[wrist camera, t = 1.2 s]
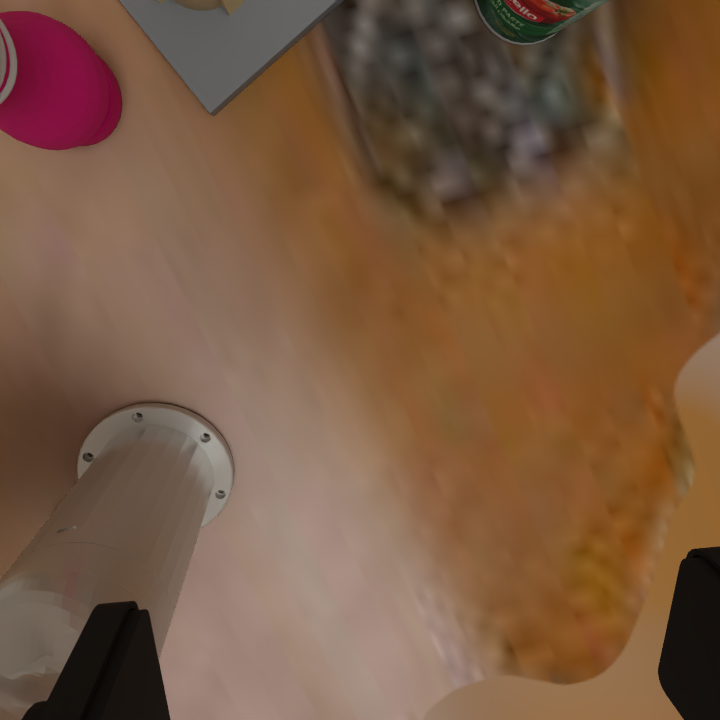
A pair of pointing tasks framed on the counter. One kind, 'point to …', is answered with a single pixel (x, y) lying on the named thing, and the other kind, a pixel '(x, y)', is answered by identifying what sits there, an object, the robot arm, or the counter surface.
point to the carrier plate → (225, 39)
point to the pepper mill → (53, 84)
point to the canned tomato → (531, 17)
